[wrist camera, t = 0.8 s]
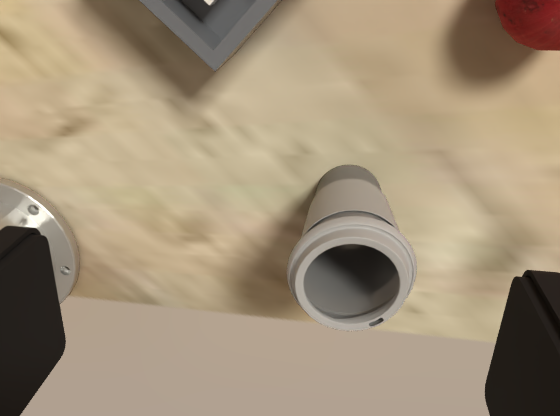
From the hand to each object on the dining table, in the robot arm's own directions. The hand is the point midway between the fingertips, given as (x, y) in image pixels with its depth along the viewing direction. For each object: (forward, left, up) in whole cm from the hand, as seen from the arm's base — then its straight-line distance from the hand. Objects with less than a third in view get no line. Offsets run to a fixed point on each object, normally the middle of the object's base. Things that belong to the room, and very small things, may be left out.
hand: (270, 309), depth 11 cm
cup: (-5, -8, -27) cm, 29 cm away
